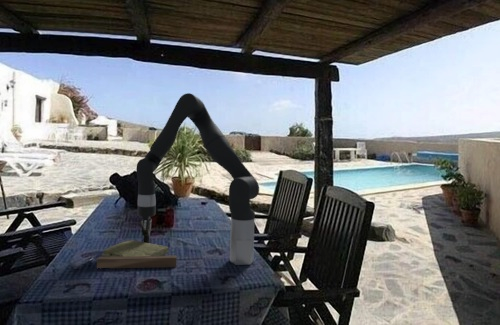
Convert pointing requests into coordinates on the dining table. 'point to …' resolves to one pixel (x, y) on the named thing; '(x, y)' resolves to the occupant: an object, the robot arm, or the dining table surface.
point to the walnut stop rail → (136, 262)
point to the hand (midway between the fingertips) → (146, 243)
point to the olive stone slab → (135, 249)
